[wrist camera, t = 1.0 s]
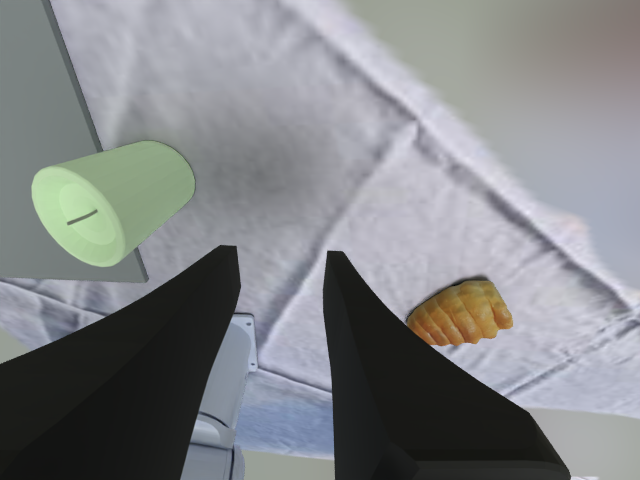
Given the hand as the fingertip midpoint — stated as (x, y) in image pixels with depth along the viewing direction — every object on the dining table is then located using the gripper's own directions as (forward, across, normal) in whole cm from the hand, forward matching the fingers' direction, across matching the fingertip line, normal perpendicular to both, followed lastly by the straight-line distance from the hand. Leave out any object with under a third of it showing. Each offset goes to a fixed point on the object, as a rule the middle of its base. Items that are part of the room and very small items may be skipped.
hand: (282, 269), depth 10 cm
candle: (+11, +10, 0) cm, 15 cm away
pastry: (+11, -17, +12) cm, 24 cm away
